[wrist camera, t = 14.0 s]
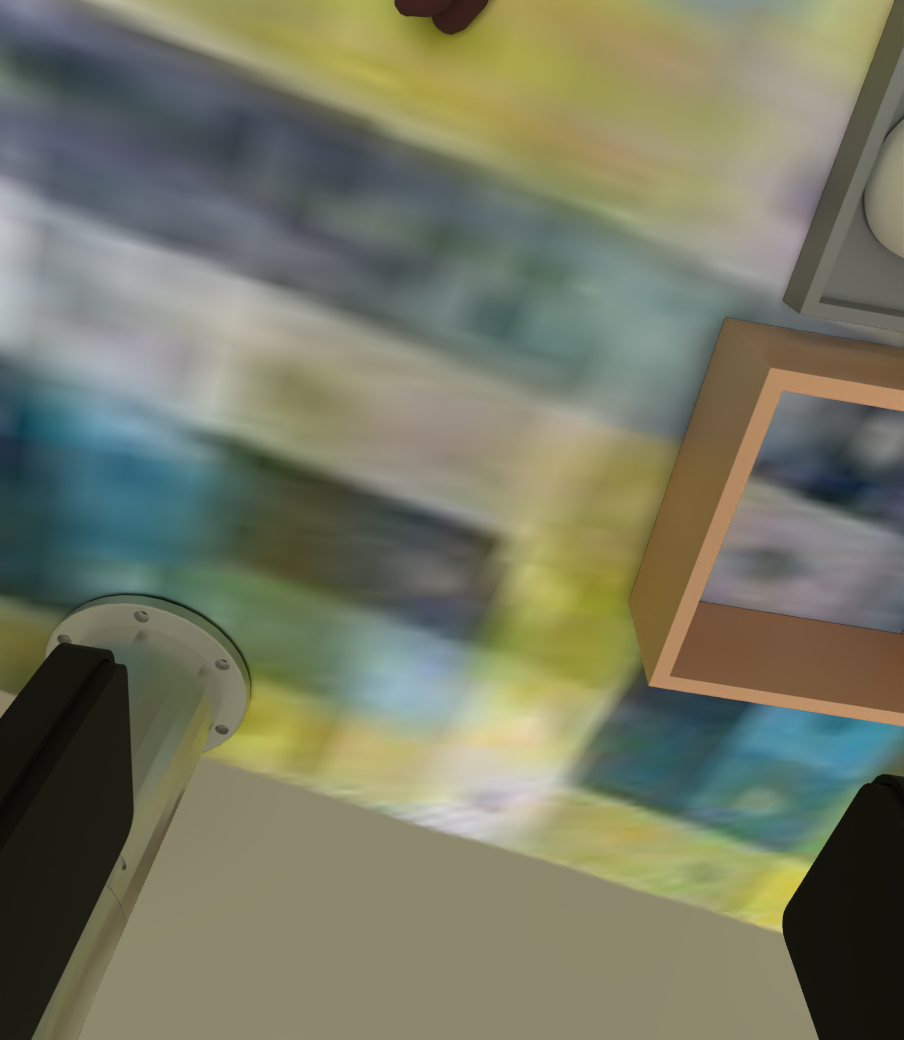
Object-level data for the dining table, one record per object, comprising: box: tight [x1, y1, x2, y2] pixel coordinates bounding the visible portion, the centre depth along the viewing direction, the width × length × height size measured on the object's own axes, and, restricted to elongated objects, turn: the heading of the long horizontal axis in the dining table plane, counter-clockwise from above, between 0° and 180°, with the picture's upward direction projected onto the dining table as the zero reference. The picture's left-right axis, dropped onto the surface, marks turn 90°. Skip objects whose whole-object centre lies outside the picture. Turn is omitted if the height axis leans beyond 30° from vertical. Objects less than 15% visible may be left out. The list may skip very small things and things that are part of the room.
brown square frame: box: [629, 318, 904, 726], centre depth 37 cm, size 17×17×7 cm
